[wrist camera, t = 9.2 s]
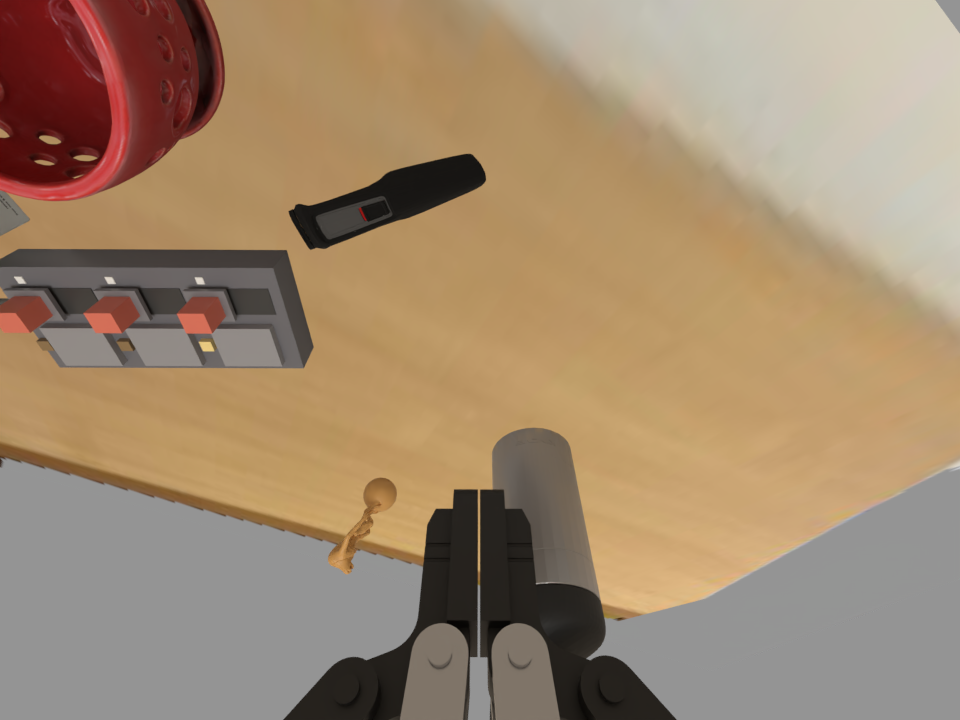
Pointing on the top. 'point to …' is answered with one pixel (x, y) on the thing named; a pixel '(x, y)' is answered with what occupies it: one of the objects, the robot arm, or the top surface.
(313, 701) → the robot arm
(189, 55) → the plant pot
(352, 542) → the figurine
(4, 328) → the switch
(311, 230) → the electric trimmer
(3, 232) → the ink box
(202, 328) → the switch
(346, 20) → the top surface
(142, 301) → the switch
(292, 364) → the switch panel
